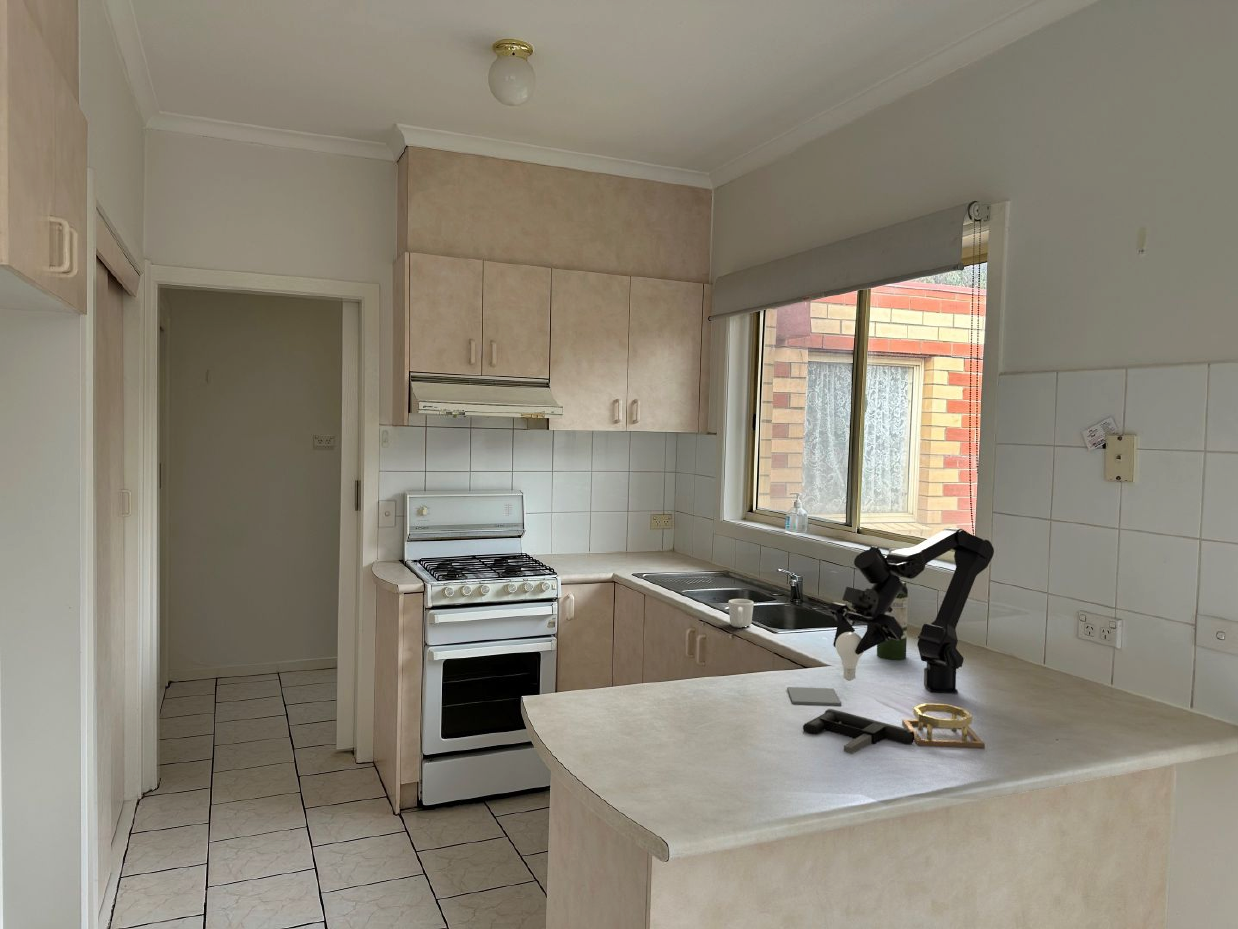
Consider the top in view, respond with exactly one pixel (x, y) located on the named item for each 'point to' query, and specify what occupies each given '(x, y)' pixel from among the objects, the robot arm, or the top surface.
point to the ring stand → (948, 723)
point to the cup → (740, 612)
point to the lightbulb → (848, 653)
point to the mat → (813, 696)
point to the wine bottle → (899, 612)
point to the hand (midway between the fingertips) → (845, 650)
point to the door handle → (857, 729)
